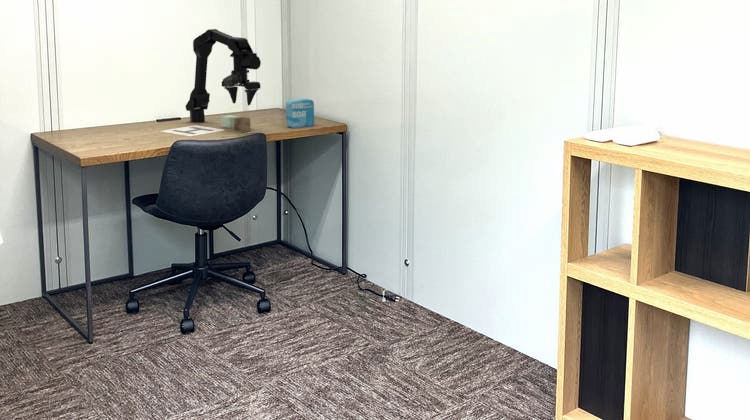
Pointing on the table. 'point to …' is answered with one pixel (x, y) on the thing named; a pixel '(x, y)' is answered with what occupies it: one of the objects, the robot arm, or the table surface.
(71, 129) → the table surface
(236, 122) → the walnut block
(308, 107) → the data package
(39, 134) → the table surface
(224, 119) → the sage cube
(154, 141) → the table surface
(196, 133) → the board
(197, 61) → the robot arm
